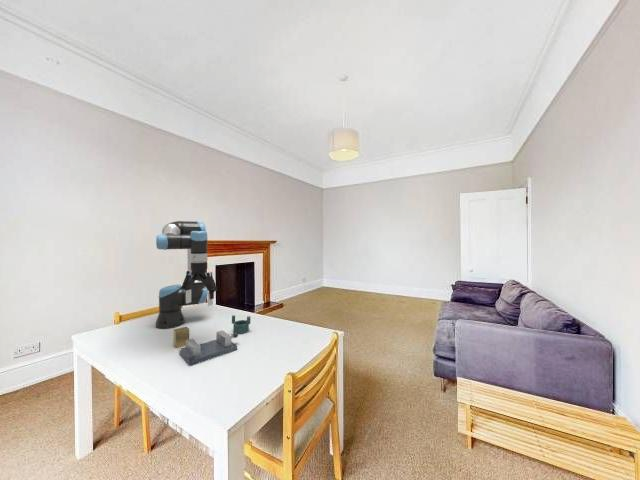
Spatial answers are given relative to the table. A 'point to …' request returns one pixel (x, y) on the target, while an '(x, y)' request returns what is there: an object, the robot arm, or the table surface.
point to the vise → (203, 351)
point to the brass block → (180, 337)
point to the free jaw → (225, 338)
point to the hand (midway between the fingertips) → (199, 304)
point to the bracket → (240, 325)
